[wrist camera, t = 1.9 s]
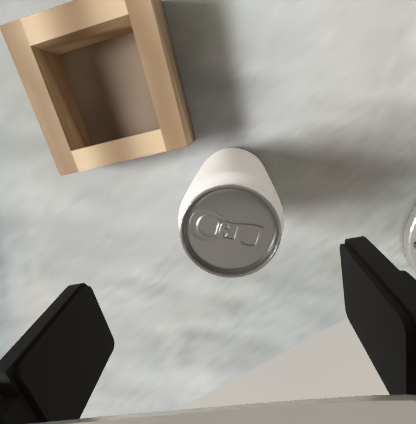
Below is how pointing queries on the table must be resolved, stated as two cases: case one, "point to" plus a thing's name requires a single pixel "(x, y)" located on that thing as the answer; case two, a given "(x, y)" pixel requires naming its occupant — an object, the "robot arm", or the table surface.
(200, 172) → the can
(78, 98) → the socket block
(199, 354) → the table surface
